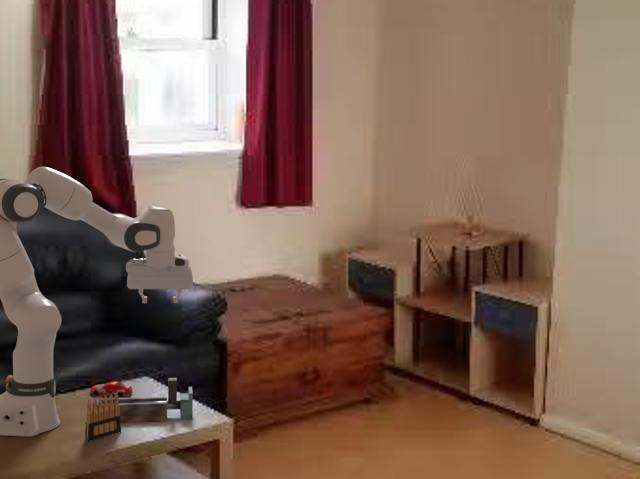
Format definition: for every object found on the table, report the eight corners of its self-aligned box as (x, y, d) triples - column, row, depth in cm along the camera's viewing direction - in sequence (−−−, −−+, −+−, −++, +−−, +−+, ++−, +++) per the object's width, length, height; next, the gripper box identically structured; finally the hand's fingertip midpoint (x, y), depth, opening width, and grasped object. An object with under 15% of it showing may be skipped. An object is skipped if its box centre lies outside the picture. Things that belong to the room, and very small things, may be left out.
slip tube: (133, 412, 291) (133, 381, 289) (133, 408, 294) (133, 378, 292) (187, 410, 294) (187, 380, 292) (187, 407, 296) (187, 377, 295)
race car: (88, 396, 310) (88, 384, 309) (93, 390, 315) (93, 378, 315) (129, 398, 309) (128, 386, 308) (133, 393, 314) (133, 381, 313)
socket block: (180, 419, 292) (180, 393, 291) (180, 412, 298) (180, 387, 297) (192, 418, 293) (192, 393, 291) (191, 411, 299) (191, 386, 297)
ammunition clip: (88, 441, 274) (88, 400, 271) (85, 439, 275) (84, 398, 273) (121, 432, 281) (121, 392, 279) (117, 430, 282) (117, 390, 280)
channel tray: (90, 424, 286) (90, 408, 285) (92, 413, 295) (92, 397, 294) (167, 422, 290) (167, 406, 289) (166, 411, 298) (166, 395, 297)
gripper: (125, 261, 297) (125, 305, 299) (193, 260, 300) (193, 304, 303) (126, 256, 303) (126, 300, 305) (192, 256, 306) (192, 299, 309)
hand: (160, 302), depth 304 cm, fingers open, 8 cm apart
